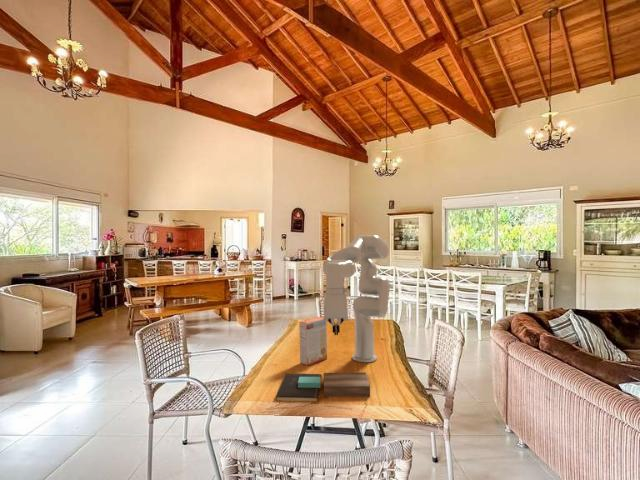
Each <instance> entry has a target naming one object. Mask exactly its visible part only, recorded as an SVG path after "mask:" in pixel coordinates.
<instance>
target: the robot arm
mask: <svg viewBox="0 0 640 480" xmlns="http://www.w3.org/2000/svg"><path fill="white" fill-rule="evenodd" d="M388 255H389V246H388V244H387V243H386V242H385V240H384V239H383V238H381V237H380V236H378V235H376V234H375V235H374V234H371V235H367V234H364V235H362V234H361V235H357V236H356V237H354V238H353V240H352V241H350V243H349V244H348V245H347V247H344V248H342V249H340V250H337V251H335V252H333V253H332V254H330V255H329V256H328V257H326V260H325V261H324V262H323V266H322V270H323V271H322V272H323V273H324V275H325V291H326V292H325V293H324V296H323V317H322V318H323V320H324V321H326V322H327V323H329V324H330V325H331V326H332V333H334V336H338V335H339V333H340V330H341V329H340V326H341V325H342V324H343V322H346V321H349V311H348V299H347V294H346V292H348V288H346V287H345V283H344V282H345V280H344V278H350V277H352V276H354V274H355V273H356V264H355V263H357V262H359V265H360V274H359V281H358V291H359V294H362V295H366V296H356V297H355V298H354V299H353V301H352V309H353V316H354V353H353V354H352V355H351V359H352V360H354V361H355V362H358V363H372V362H376V361H377V359H378V356H377V355H376V354H375V351H374V350H375V347H374V344H375V342H374V341H375V340H374V339H375V334H374V332H375V331H374V327H375V325H374V322H373V320H372V318H371V317H374V318H385V316H386V315H387V313H388V308H389V297H390V290H391V289H390V286H391V285H390V281H389V280H388V279H387V278H386V277H382V276H377V274H378V267H377V265H376V263H375V262H374V261H373V259H374V260H377V259H378V260H384V259H386V258H387V257H388ZM371 296H373V297H371ZM374 296H376V297H374ZM336 319H337V321H336V322H335V320H336Z"/></svg>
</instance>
